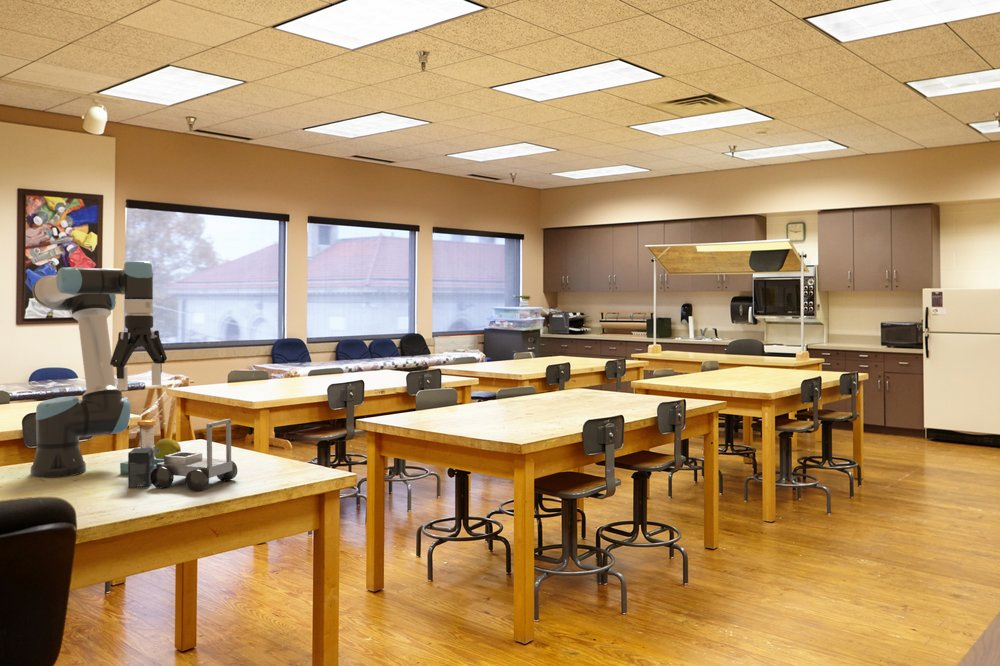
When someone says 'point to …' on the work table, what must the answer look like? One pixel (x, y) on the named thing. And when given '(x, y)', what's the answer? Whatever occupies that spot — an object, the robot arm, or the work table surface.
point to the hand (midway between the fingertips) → (140, 387)
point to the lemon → (166, 448)
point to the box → (140, 467)
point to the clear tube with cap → (147, 434)
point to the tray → (125, 466)
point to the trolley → (196, 464)
